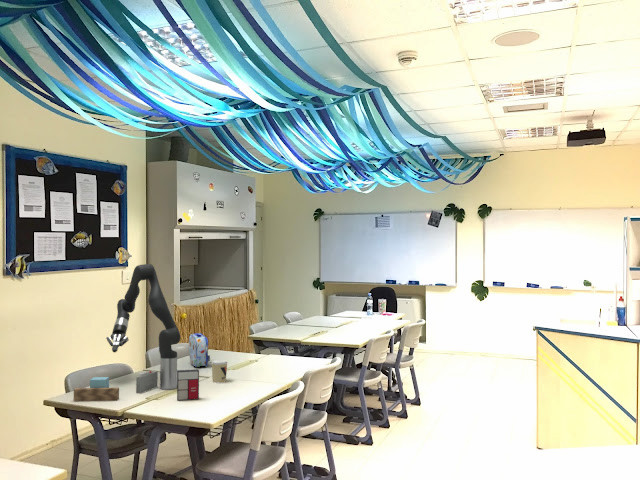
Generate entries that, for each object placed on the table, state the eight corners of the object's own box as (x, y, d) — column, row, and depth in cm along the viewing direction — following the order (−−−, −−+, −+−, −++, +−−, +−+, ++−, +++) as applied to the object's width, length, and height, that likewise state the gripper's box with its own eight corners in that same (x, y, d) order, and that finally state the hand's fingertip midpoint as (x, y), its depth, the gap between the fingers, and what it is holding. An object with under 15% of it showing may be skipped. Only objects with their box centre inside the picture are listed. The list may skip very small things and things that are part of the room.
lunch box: (211, 368, 361) (211, 335, 362) (195, 369, 357) (195, 336, 357) (201, 360, 386) (202, 329, 387) (187, 362, 382) (187, 330, 382)
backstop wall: (128, 390, 304) (128, 379, 304) (117, 400, 282) (117, 388, 282) (88, 390, 302) (88, 379, 302) (73, 401, 281) (73, 389, 281)
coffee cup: (223, 383, 320) (223, 363, 320) (208, 382, 322) (208, 362, 322) (229, 380, 329) (229, 360, 329) (214, 379, 331) (215, 359, 331)
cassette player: (153, 386, 312) (153, 369, 312) (157, 387, 311) (157, 369, 312) (136, 393, 297) (136, 374, 298) (140, 393, 297) (140, 375, 297)
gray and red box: (177, 401, 282) (177, 371, 282) (177, 398, 286) (177, 370, 286) (198, 399, 285) (199, 370, 285) (198, 397, 289) (198, 369, 289)
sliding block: (108, 394, 291) (109, 377, 291) (105, 396, 285) (105, 379, 285) (93, 394, 290) (93, 377, 290) (89, 397, 284) (89, 379, 284)
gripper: (107, 323, 322) (100, 347, 310) (130, 323, 323) (124, 347, 311) (110, 331, 328) (103, 355, 315) (133, 331, 329) (127, 355, 316)
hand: (114, 351), depth 313 cm, fingers closed
